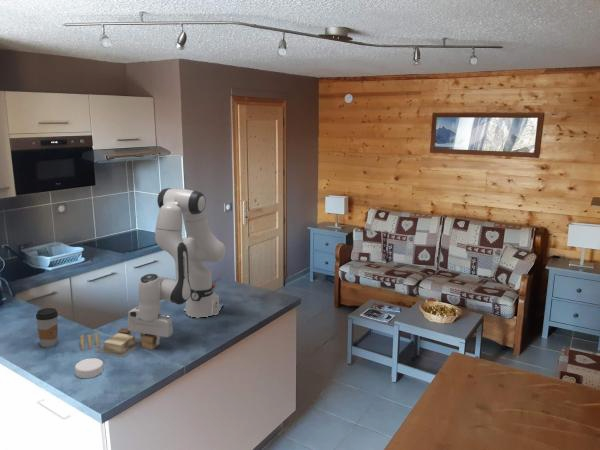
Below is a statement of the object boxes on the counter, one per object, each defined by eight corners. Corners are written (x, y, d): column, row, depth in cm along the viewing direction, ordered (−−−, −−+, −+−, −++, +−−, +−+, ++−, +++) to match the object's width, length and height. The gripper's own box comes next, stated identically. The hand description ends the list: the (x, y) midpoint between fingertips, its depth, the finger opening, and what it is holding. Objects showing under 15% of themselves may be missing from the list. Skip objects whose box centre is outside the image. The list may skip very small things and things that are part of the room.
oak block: (148, 344, 213) (148, 331, 212) (158, 346, 212) (158, 333, 210) (142, 348, 208) (141, 335, 207) (152, 350, 207) (152, 337, 206)
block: (122, 336, 218) (121, 327, 217) (130, 336, 218) (130, 328, 217) (118, 340, 214) (118, 331, 213) (127, 340, 214) (127, 332, 213)
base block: (118, 341, 213) (118, 332, 212) (134, 344, 211) (134, 335, 210) (103, 351, 203) (103, 342, 202) (120, 354, 201) (120, 345, 200)
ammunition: (79, 334, 209) (80, 341, 202) (98, 331, 212) (99, 339, 205) (80, 344, 210) (81, 352, 203) (98, 341, 213) (100, 349, 206)
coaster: (89, 381, 182) (88, 372, 181) (69, 375, 185) (68, 366, 185) (109, 369, 191) (108, 361, 190) (89, 363, 194) (89, 355, 194)
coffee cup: (48, 350, 203) (46, 316, 200) (33, 346, 206) (30, 312, 203) (64, 342, 211) (62, 309, 208) (49, 338, 213) (47, 306, 210)
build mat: (121, 336, 219) (121, 334, 219) (148, 341, 216) (148, 339, 215) (94, 353, 202) (94, 352, 202) (123, 359, 199) (123, 357, 198)
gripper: (175, 313, 207) (175, 343, 210) (133, 306, 212) (134, 336, 215) (167, 319, 201) (168, 350, 204) (124, 311, 206) (125, 342, 209)
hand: (150, 342), depth 209 cm, fingers closed on oak block, 5 cm apart
